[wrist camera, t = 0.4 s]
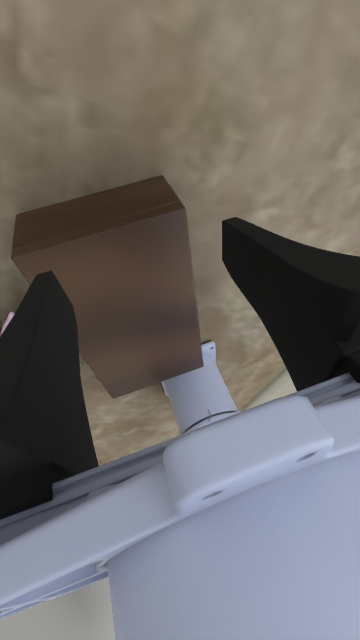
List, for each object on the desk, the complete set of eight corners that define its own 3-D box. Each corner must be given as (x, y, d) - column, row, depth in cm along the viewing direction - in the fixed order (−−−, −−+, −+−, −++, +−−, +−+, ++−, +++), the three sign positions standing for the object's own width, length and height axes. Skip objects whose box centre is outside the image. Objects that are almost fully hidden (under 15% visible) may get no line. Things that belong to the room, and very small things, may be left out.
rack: (188, 332, 33) (204, 366, 30) (105, 360, 32) (112, 399, 29) (162, 174, 19) (185, 207, 16) (16, 214, 18) (10, 258, 15)
